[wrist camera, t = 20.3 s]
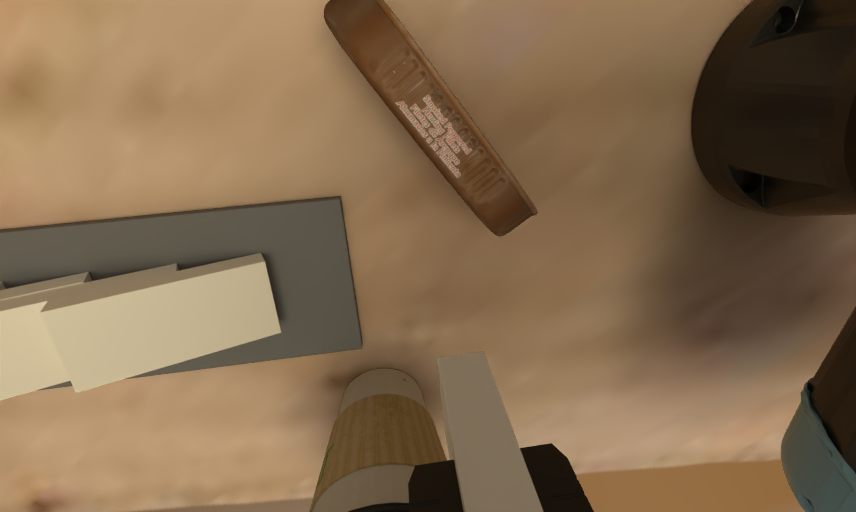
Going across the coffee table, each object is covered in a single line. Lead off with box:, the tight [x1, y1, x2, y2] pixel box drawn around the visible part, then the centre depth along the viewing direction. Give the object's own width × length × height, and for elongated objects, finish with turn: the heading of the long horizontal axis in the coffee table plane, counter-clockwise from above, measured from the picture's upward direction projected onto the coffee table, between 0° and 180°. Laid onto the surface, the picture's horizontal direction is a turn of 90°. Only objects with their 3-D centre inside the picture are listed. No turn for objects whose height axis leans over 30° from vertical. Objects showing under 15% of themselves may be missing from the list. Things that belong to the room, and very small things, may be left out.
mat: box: [0, 196, 362, 390], centre depth 29 cm, size 26×11×1 cm, turn 94°
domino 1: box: [0, 263, 179, 400], centre depth 26 cm, size 2×5×11 cm
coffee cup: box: [310, 368, 447, 512], centre depth 28 cm, size 10×10×15 cm
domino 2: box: [40, 253, 281, 393], centre depth 26 cm, size 2×5×11 cm
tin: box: [324, 0, 538, 237], centre depth 23 cm, size 15×3×8 cm, turn 39°
